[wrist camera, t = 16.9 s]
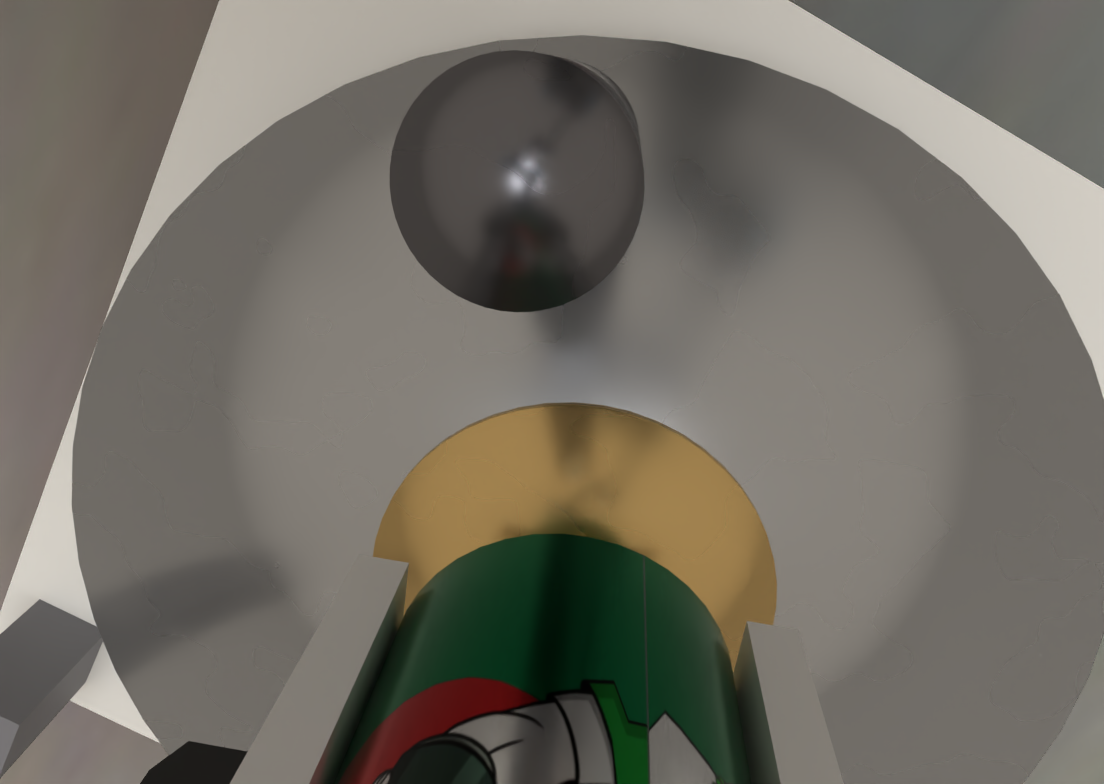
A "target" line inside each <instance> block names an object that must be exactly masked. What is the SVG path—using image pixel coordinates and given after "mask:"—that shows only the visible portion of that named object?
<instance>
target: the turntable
mask: <svg viewBox="0 0 1104 784" xmlns="http://www.w3.org/2000/svg"><path fill="white" fill-rule="evenodd" d="M72 513H73V521H74V529H75V536H76V544H77V552H78V560H79V566H80V569H81V573H82V577H83V581H84V584H85V588H86V592H87V595H88V599H89V603H90V607H91V610H92V614H93V618H94V620H95V623H96V625H97V628H98V630H99V633H100V635H101V637H102V640H103V642H104V645H105V647H106V649H107V652H108V654H109V657H110V659H111V662H112V664H113V666H114V669H115V671H116V673H117V675H118V676H119V678H120V680H121V682H122V683H123V685H124V687H125V689H126V691H127V692H128V694H129V696H130V698H131V699H132V701H133V703H134V705H135V706H136V708H137V710H138V712H139V713H140V715H141V717H142V719H143V720H144V722H145V723H146V724H147V726H148V727H149V728H150V730H151V731H152V733H153V734H154V735H155V737H156V738H157V739H158V741H159V742H160V743H161V745H162V746H163V747H164V749H165V750H166V752H167V753H168V754H169V755H170V754H172V753H173V752H174V751H176V750H177V749H178V748H180V747H181V746H182V745H184V744H185V743H186V742H188V741H192V742H198V743H203V744H209V745H214V746H220V747H226V748H231V749H237V750H242V751H248V750H249V749H250V747H251V745H252V743H253V741H254V740H255V738H256V736H257V734H258V733H259V731H260V729H261V727H262V725H263V724H264V722H265V720H266V718H267V717H268V715H269V713H270V711H271V710H272V708H273V706H274V704H275V702H276V701H277V699H278V697H279V695H280V694H281V692H282V690H283V688H284V686H285V685H286V683H287V681H288V679H289V678H290V676H291V674H292V672H293V670H294V669H295V667H296V665H297V663H298V662H299V660H300V658H301V656H302V654H303V653H304V651H305V649H306V647H307V646H308V644H309V642H310V640H311V638H312V637H313V635H314V633H315V631H316V630H317V628H318V626H319V624H320V623H321V621H322V619H323V617H324V615H325V614H326V612H327V610H328V608H329V607H330V605H331V603H332V601H333V599H334V598H335V596H336V594H337V592H338V591H339V589H340V587H341V585H342V583H343V582H344V580H345V578H346V576H347V575H348V573H349V571H350V569H351V567H352V566H353V564H354V562H355V560H356V559H357V557H358V555H359V554H360V555H366V556H372V557H378V558H383V559H389V560H395V561H401V562H407V563H409V567H408V576H407V586H406V596H405V606H404V614H405V612H406V610H407V609H408V607H409V606H410V604H411V603H412V601H413V600H414V598H415V597H416V595H417V594H418V592H419V591H420V590H421V589H422V588H423V587H424V586H425V585H426V584H427V583H428V582H429V581H430V580H431V579H432V578H433V577H434V576H435V575H436V574H437V573H438V572H439V571H441V570H442V569H443V568H445V567H446V566H448V565H449V564H450V563H452V562H453V561H454V560H456V559H457V558H459V557H461V556H463V555H465V554H467V553H469V552H471V551H473V550H475V549H477V548H479V547H482V546H485V545H488V544H491V543H494V542H497V541H500V540H504V539H507V538H513V537H519V536H525V535H531V534H570V535H579V536H587V537H593V538H597V539H600V540H604V541H608V542H612V543H616V544H619V545H621V546H624V547H626V548H629V549H631V550H633V551H636V552H638V553H640V554H643V555H645V556H647V557H648V558H650V559H652V560H653V561H655V562H657V563H658V564H660V565H662V566H663V567H665V568H667V569H668V570H669V571H671V572H672V573H673V574H674V575H675V576H677V577H678V578H679V579H680V580H682V581H683V582H684V583H685V584H686V585H688V586H689V587H690V588H691V590H692V591H693V592H694V593H695V594H696V595H697V596H698V597H699V599H700V600H701V601H702V602H703V603H704V604H705V605H706V607H707V608H708V610H709V612H710V613H711V615H712V616H713V618H714V620H715V621H716V623H717V624H718V626H719V628H720V630H721V633H722V635H723V638H724V640H725V643H726V645H727V648H728V650H729V655H730V660H731V665H732V670H733V672H734V668H735V665H736V661H737V657H738V653H739V649H740V645H741V642H742V638H743V634H744V630H745V626H746V623H747V621H750V622H756V623H762V624H767V625H773V626H779V627H785V628H791V629H796V630H798V631H799V634H800V638H801V641H802V644H803V648H804V651H805V654H806V658H807V661H808V664H809V668H810V671H811V675H812V678H813V681H814V685H815V688H816V691H817V695H818V698H819V702H820V705H821V708H822V712H823V715H824V718H825V722H826V725H827V728H828V732H829V735H830V739H831V742H832V745H833V749H834V752H835V755H836V759H837V762H838V765H839V769H840V772H841V776H842V779H843V782H844V784H1023V783H1024V782H1025V781H1026V780H1027V778H1028V777H1029V775H1030V774H1031V773H1032V771H1033V770H1034V768H1035V767H1036V766H1037V764H1038V763H1039V761H1040V760H1041V758H1042V757H1043V756H1044V754H1045V753H1046V751H1047V750H1048V749H1049V747H1050V746H1051V744H1052V743H1053V741H1054V740H1055V739H1056V737H1057V736H1058V734H1059V733H1060V732H1061V730H1062V728H1063V726H1064V724H1065V722H1066V720H1067V718H1068V716H1069V715H1070V713H1071V711H1072V709H1073V707H1074V705H1075V703H1076V701H1077V699H1078V697H1079V695H1080V693H1081V691H1082V689H1083V687H1084V685H1085V683H1086V682H1087V680H1088V678H1089V675H1090V672H1091V669H1092V666H1093V663H1094V661H1095V658H1096V655H1097V652H1098V649H1099V646H1100V643H1101V640H1102V637H1103V634H1104V398H1103V395H1102V392H1101V388H1100V385H1099V382H1098V379H1097V375H1096V372H1095V369H1094V366H1093V362H1092V359H1091V357H1090V355H1089V353H1088V351H1087V349H1086V347H1085V345H1084V343H1083V341H1082V339H1081V337H1080V335H1079V333H1078V331H1077V329H1076V327H1075V325H1074V323H1073V321H1072V319H1071V317H1070V315H1069V313H1068V311H1067V309H1066V307H1065V305H1064V302H1063V300H1062V298H1061V296H1060V295H1059V293H1058V292H1057V290H1056V289H1055V288H1054V286H1053V285H1052V283H1051V282H1050V280H1049V279H1048V278H1047V276H1046V275H1045V273H1044V272H1043V271H1042V269H1041V268H1040V266H1039V265H1038V263H1037V262H1036V261H1035V259H1034V258H1033V256H1032V255H1031V254H1030V252H1029V251H1028V249H1027V248H1026V246H1025V245H1024V244H1023V242H1022V241H1021V239H1020V238H1019V237H1018V235H1017V234H1016V233H1015V232H1014V231H1013V230H1012V229H1011V228H1010V227H1009V226H1008V224H1007V223H1006V222H1005V221H1004V220H1003V219H1002V218H1001V217H1000V216H999V215H998V214H997V213H996V212H995V211H994V210H993V209H992V208H991V207H990V206H989V205H988V204H987V203H986V202H985V201H984V200H983V199H982V198H981V197H980V196H979V195H978V193H977V192H976V191H975V190H974V189H973V188H972V187H971V186H970V185H969V184H968V183H967V182H966V181H965V180H964V179H963V178H962V177H961V176H959V175H958V174H957V173H955V172H954V171H953V170H951V169H950V168H949V167H947V166H946V165H945V164H944V163H942V162H941V161H940V160H938V159H937V158H936V157H934V156H933V155H932V154H930V153H929V152H928V151H926V150H925V149H924V148H923V147H921V146H920V145H919V144H917V143H916V142H915V141H913V140H912V139H911V138H909V137H908V136H907V135H905V134H904V133H903V132H902V131H900V130H899V129H897V128H895V127H894V126H892V125H890V124H888V123H886V122H885V121H883V120H881V119H879V118H877V117H875V116H874V115H872V114H870V113H868V112H866V111H865V110H863V109H861V108H859V107H857V106H856V105H854V104H852V103H850V102H848V101H846V100H845V99H843V98H841V97H839V96H837V95H836V94H834V93H832V92H830V91H828V90H827V89H824V88H821V87H819V86H816V85H813V84H811V83H808V82H805V81H803V80H800V79H797V78H795V77H792V76H789V75H787V74H784V73H781V72H779V71H776V70H773V69H771V68H768V67H765V66H763V65H760V64H758V63H755V62H752V61H750V60H746V59H742V58H737V57H733V56H728V55H724V54H719V53H715V52H710V51H706V50H701V49H696V48H692V47H687V46H683V45H678V44H674V43H669V42H664V41H651V40H638V39H625V38H612V37H599V36H586V35H577V36H561V37H545V38H530V39H514V40H499V41H494V42H489V43H484V44H480V45H475V46H470V47H465V48H460V49H456V50H451V51H446V52H441V53H437V54H432V55H427V56H422V57H418V58H415V59H413V60H410V61H407V62H404V63H402V64H399V65H396V66H393V67H391V68H388V69H385V70H382V71H380V72H377V73H374V74H371V75H369V76H366V77H363V78H361V79H358V80H355V81H352V82H350V83H347V84H344V85H342V86H341V87H339V88H337V89H335V90H333V91H331V92H330V93H328V94H326V95H324V96H322V97H320V98H318V99H317V100H315V101H313V102H311V103H309V104H307V105H306V106H304V107H302V108H300V109H298V110H296V111H294V112H293V113H291V114H289V115H287V116H285V117H283V118H282V119H280V120H278V121H276V122H275V123H274V124H272V125H271V126H270V127H268V128H267V129H266V130H265V131H263V132H262V133H261V134H259V135H258V136H257V137H255V138H254V139H253V140H251V141H250V142H249V143H247V144H246V145H245V146H243V147H242V148H241V149H239V150H238V151H237V152H235V153H234V154H233V155H231V156H230V157H229V158H227V159H226V160H225V161H223V162H222V163H221V164H219V165H218V166H217V167H216V168H215V169H214V170H213V171H212V172H211V174H210V175H209V176H208V177H207V178H206V179H205V180H204V181H203V182H202V183H201V184H200V185H199V186H198V187H197V188H196V189H195V190H194V191H193V192H192V193H191V194H190V195H189V196H188V197H187V198H186V199H185V200H184V201H183V202H182V203H181V204H180V205H179V206H178V207H177V208H176V209H175V210H174V211H173V212H172V213H171V214H170V216H169V217H168V218H167V220H166V221H165V223H164V224H163V225H162V227H161V228H160V230H159V231H158V232H157V234H156V235H155V237H154V238H153V239H152V241H151V242H150V244H149V245H148V246H147V248H146V249H145V251H144V252H143V253H142V255H141V256H140V258H139V259H138V260H137V262H136V263H135V265H134V266H133V267H132V269H131V270H130V272H129V274H128V276H127V278H126V280H125V282H124V284H123V286H122V288H121V290H120V292H119V294H118V296H117V298H116V300H115V302H114V304H113V306H112V308H111V310H110V312H109V314H108V316H107V318H106V320H105V322H104V324H103V326H102V328H101V331H100V334H99V337H98V341H97V344H96V347H95V350H94V353H93V356H92V359H91V362H90V365H89V368H88V371H87V374H86V378H85V381H84V384H83V387H82V393H81V399H80V405H79V411H78V417H77V423H76V429H75V435H74V441H73V452H72ZM403 617H404V616H403Z"/></svg>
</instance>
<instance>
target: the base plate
mask: <svg viewBox="0 0 1104 784" xmlns="http://www.w3.org/2000/svg"><path fill="white" fill-rule="evenodd" d="M577 35H586V36H599V37H612V38H625V39H638V40H651V41H664V42H669V43H674V44H678V45H683V46H687V47H692V48H696V49H701V50H706V51H710V52H715V53H719V54H724V55H728V56H733V57H737V58H742V59H746V60H750V61H752V62H755V63H758V64H760V65H763V66H765V67H768V68H771V69H773V70H776V71H779V72H781V73H784V74H787V75H789V76H792V77H795V78H797V79H800V80H803V81H805V82H808V83H811V84H813V85H816V86H819V87H821V88H824V89H827V90H828V91H830V92H832V93H834V94H836V95H837V96H839V97H841V98H843V99H845V100H846V101H848V102H850V103H852V104H854V105H856V106H857V107H859V108H861V109H863V110H865V111H866V112H868V113H870V114H872V115H874V116H875V117H877V118H879V119H881V120H883V121H885V122H886V123H888V124H890V125H892V126H894V127H895V128H897V129H899V130H900V131H902V132H903V133H904V134H905V135H907V136H908V137H909V138H911V139H912V140H913V141H915V142H916V143H917V144H919V145H920V146H921V147H923V148H924V149H925V150H926V151H928V152H929V153H930V154H932V155H933V156H934V157H936V158H937V159H938V160H940V161H941V162H942V163H944V164H945V165H946V166H947V167H949V168H950V169H951V170H953V171H954V172H955V173H957V174H958V175H959V176H961V177H962V178H963V179H964V180H965V181H966V182H967V183H968V184H969V185H970V186H971V187H972V188H973V189H974V190H975V191H976V192H977V193H978V195H979V196H980V197H981V198H982V199H983V200H984V201H985V202H986V203H987V204H988V205H989V206H990V207H991V208H992V209H993V210H994V211H995V212H996V213H997V214H998V215H999V216H1000V217H1001V218H1002V219H1003V220H1004V221H1005V222H1006V223H1007V224H1008V226H1009V227H1010V228H1011V229H1012V230H1013V231H1014V232H1015V233H1016V234H1017V235H1018V237H1019V238H1020V239H1021V241H1022V242H1023V244H1024V245H1025V246H1026V248H1027V249H1028V251H1029V252H1030V254H1031V255H1032V256H1033V258H1034V259H1035V261H1036V262H1037V263H1038V265H1039V266H1040V268H1041V269H1042V271H1043V272H1044V273H1045V275H1046V276H1047V278H1048V279H1049V280H1050V282H1051V283H1052V285H1053V286H1054V288H1055V289H1056V290H1057V292H1058V293H1059V295H1060V296H1061V298H1062V300H1063V302H1064V305H1065V307H1066V309H1067V311H1068V313H1069V315H1070V317H1071V319H1072V321H1073V323H1074V325H1075V327H1076V329H1077V331H1078V333H1079V335H1080V337H1081V339H1082V341H1083V343H1084V345H1085V347H1086V349H1087V351H1088V353H1089V355H1090V357H1091V359H1092V362H1093V366H1094V369H1095V372H1096V375H1097V379H1098V382H1099V385H1100V388H1101V392H1102V395H1103V398H1104V189H1103V188H1101V187H1100V186H1098V185H1096V184H1095V183H1093V182H1091V181H1090V180H1088V179H1086V178H1085V177H1083V176H1081V175H1080V174H1078V173H1076V172H1075V171H1073V170H1071V169H1070V168H1068V167H1066V166H1065V165H1063V164H1061V163H1060V162H1058V161H1056V160H1055V159H1053V158H1051V157H1050V156H1048V155H1046V154H1045V153H1043V152H1041V151H1040V150H1038V149H1036V148H1035V147H1033V146H1031V145H1030V144H1028V143H1026V142H1025V141H1023V140H1021V139H1020V138H1018V137H1016V136H1015V135H1013V134H1011V133H1010V132H1008V131H1006V130H1005V129H1003V128H1001V127H999V126H998V125H996V124H994V123H993V122H991V121H989V120H988V119H986V118H984V117H983V116H981V115H979V114H978V113H976V112H974V111H973V110H971V109H969V108H968V107H966V106H964V105H963V104H961V103H959V102H958V101H956V100H954V99H953V98H951V97H949V96H948V95H946V94H944V93H943V92H941V91H939V90H938V89H936V88H934V87H933V86H931V85H929V84H928V83H926V82H924V81H923V80H921V79H919V78H918V77H916V76H914V75H913V74H911V73H909V72H908V71H906V70H904V69H903V68H901V67H899V66H897V65H896V64H894V63H892V62H891V61H889V60H887V59H886V58H884V57H882V56H881V55H879V54H877V53H876V52H874V51H872V50H871V49H869V48H867V47H866V46H864V45H862V44H861V43H859V42H857V41H856V40H854V39H852V38H851V37H849V36H847V35H846V34H844V33H842V32H841V31H839V30H837V29H836V28H834V27H832V26H831V25H829V24H827V23H826V22H824V21H822V20H821V19H819V18H817V17H816V16H814V15H812V14H811V13H809V12H807V11H806V10H804V9H802V8H800V7H799V6H797V5H795V4H794V3H792V2H790V1H789V0H219V3H218V5H217V8H216V11H215V14H214V17H213V19H212V22H211V25H210V28H209V31H208V33H207V36H206V39H205V42H204V45H203V47H202V50H201V53H200V56H199V58H198V61H197V64H196V67H195V70H194V72H193V75H192V78H191V81H190V84H189V86H188V89H187V92H186V95H185V98H184V100H183V103H182V106H181V109H180V112H179V114H178V117H177V120H176V123H175V125H174V128H173V131H172V134H171V137H170V139H169V142H168V145H167V148H166V151H165V153H164V156H163V159H162V162H161V165H160V167H159V170H158V173H157V176H156V179H155V181H154V184H153V187H152V190H151V192H150V195H149V198H148V201H147V204H146V206H145V209H144V212H143V215H142V218H141V220H140V223H139V226H138V229H137V232H136V234H135V237H134V240H133V243H132V246H131V248H130V251H129V254H128V257H127V259H126V262H125V265H124V268H123V271H122V273H121V276H120V279H119V282H118V285H117V287H116V290H115V293H114V296H113V299H112V301H111V304H110V307H109V310H108V313H107V315H106V318H107V316H108V314H109V312H110V310H111V308H112V306H113V304H114V302H115V300H116V298H117V296H118V294H119V292H120V290H121V288H122V286H123V284H124V282H125V280H126V278H127V276H128V274H129V272H130V270H131V269H132V267H133V266H134V265H135V263H136V262H137V260H138V259H139V258H140V256H141V255H142V253H143V252H144V251H145V249H146V248H147V246H148V245H149V244H150V242H151V241H152V239H153V238H154V237H155V235H156V234H157V232H158V231H159V230H160V228H161V227H162V225H163V224H164V223H165V221H166V220H167V218H168V217H169V216H170V214H171V213H172V212H173V211H174V210H175V209H176V208H177V207H178V206H179V205H180V204H181V203H182V202H183V201H184V200H185V199H186V198H187V197H188V196H189V195H190V194H191V193H192V192H193V191H194V190H195V189H196V188H197V187H198V186H199V185H200V184H201V183H202V182H203V181H204V180H205V179H206V178H207V177H208V176H209V175H210V174H211V172H212V171H213V170H214V169H215V168H216V167H217V166H218V165H219V164H221V163H222V162H223V161H225V160H226V159H227V158H229V157H230V156H231V155H233V154H234V153H235V152H237V151H238V150H239V149H241V148H242V147H243V146H245V145H246V144H247V143H249V142H250V141H251V140H253V139H254V138H255V137H257V136H258V135H259V134H261V133H262V132H263V131H265V130H266V129H267V128H268V127H270V126H271V125H272V124H274V123H275V122H276V121H278V120H280V119H282V118H283V117H285V116H287V115H289V114H291V113H293V112H294V111H296V110H298V109H300V108H302V107H304V106H306V105H307V104H309V103H311V102H313V101H315V100H317V99H318V98H320V97H322V96H324V95H326V94H328V93H330V92H331V91H333V90H335V89H337V88H339V87H341V86H342V85H344V84H347V83H350V82H352V81H355V80H358V79H361V78H363V77H366V76H369V75H371V74H374V73H377V72H380V71H382V70H385V69H388V68H391V67H393V66H396V65H399V64H402V63H404V62H407V61H410V60H413V59H415V58H418V57H422V56H427V55H432V54H437V53H441V52H446V51H451V50H456V49H460V48H465V47H470V46H475V45H480V44H484V43H489V42H494V41H499V40H514V39H530V38H545V37H561V36H577ZM106 318H105V320H106ZM104 322H105V321H104ZM97 341H98V340H97ZM96 344H97V343H96ZM95 347H96V346H95ZM94 350H95V349H94ZM93 353H94V352H93ZM92 356H93V354H92ZM91 359H92V357H91ZM90 362H91V360H90ZM89 365H90V363H89ZM88 368H89V366H88ZM88 368H87V371H88ZM87 371H86V374H87ZM86 374H85V377H84V380H83V382H82V385H81V388H80V391H79V393H78V396H77V399H76V402H75V405H74V407H73V410H72V413H71V416H70V419H69V421H68V424H67V427H66V430H65V433H64V435H63V438H62V441H61V444H60V446H59V449H58V452H57V455H56V458H55V460H54V463H53V466H52V469H51V472H50V474H49V477H48V480H47V483H46V486H45V488H44V491H43V494H42V497H41V500H40V502H39V505H38V508H37V511H36V513H35V516H34V519H33V522H32V525H31V527H30V530H29V533H28V536H27V539H26V541H25V544H24V547H23V550H22V553H21V555H20V558H19V561H18V564H17V567H16V569H15V572H14V575H13V578H12V580H11V583H10V586H9V589H8V592H7V594H6V597H5V600H4V603H3V606H2V608H1V611H0V778H1V777H2V776H3V774H4V773H5V772H6V771H7V770H8V769H9V768H10V767H11V765H12V764H13V763H14V762H15V761H16V760H17V759H18V758H19V757H20V755H21V754H22V753H23V752H24V751H25V750H26V749H27V748H28V746H29V745H30V744H31V743H32V742H33V741H34V740H35V739H36V737H37V736H38V735H39V734H40V733H41V732H42V731H43V730H44V729H45V727H46V726H47V725H48V724H49V723H50V722H51V721H52V720H53V718H54V717H55V716H56V715H57V714H58V713H59V712H60V711H61V709H62V708H63V707H64V706H65V705H66V704H67V703H68V702H69V701H72V702H74V703H76V704H78V705H80V706H82V707H85V708H87V709H89V710H91V711H93V712H95V713H97V714H99V715H101V716H104V717H106V718H108V719H110V720H112V721H114V722H116V723H118V724H120V725H123V726H125V727H127V728H129V729H131V730H133V731H135V732H137V733H140V734H142V735H144V736H146V737H148V738H150V739H152V740H154V741H156V742H159V741H158V739H157V738H156V737H155V735H154V734H153V733H152V731H151V730H150V728H149V727H148V726H147V724H146V723H145V722H144V720H143V719H142V717H141V715H140V713H139V712H138V710H137V708H136V706H135V705H134V703H133V701H132V699H131V698H130V696H129V694H128V692H127V691H126V689H125V687H124V685H123V683H122V682H121V680H120V678H119V676H118V675H117V673H116V671H115V669H114V666H113V664H112V662H111V659H110V657H109V654H108V652H107V649H106V647H105V645H104V642H103V640H102V637H101V635H100V633H99V630H98V628H97V625H96V623H95V620H94V618H93V614H92V610H91V607H90V603H89V599H88V595H87V592H86V588H85V584H84V581H83V577H82V573H81V569H80V566H79V560H78V552H77V544H76V536H75V529H74V521H73V513H72V452H73V441H74V435H75V429H76V423H77V417H78V411H79V405H80V399H81V393H82V387H83V384H84V381H85V378H86ZM159 743H160V742H159Z"/></svg>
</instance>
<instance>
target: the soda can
mask: <svg viewBox="0 0 1104 784" xmlns="http://www.w3.org/2000/svg"><path fill="white" fill-rule="evenodd" d="M333 784H752V783H751V777H750V771H749V765H748V759H747V753H746V747H745V741H744V735H743V729H742V723H741V717H740V711H739V705H738V699H737V693H736V687H735V681H734V675H733V670H732V665H731V660H730V655H729V650H728V648H727V645H726V643H725V640H724V638H723V635H722V633H721V630H720V628H719V626H718V624H717V623H716V621H715V620H714V618H713V616H712V615H711V613H710V612H709V610H708V608H707V607H706V605H705V604H704V603H703V602H702V601H701V600H700V599H699V597H698V596H697V595H696V594H695V593H694V592H693V591H692V590H691V588H690V587H689V586H688V585H686V584H685V583H684V582H683V581H682V580H680V579H679V578H678V577H677V576H675V575H674V574H673V573H672V572H671V571H669V570H668V569H667V568H665V567H663V566H662V565H660V564H658V563H657V562H655V561H653V560H652V559H650V558H648V557H647V556H645V555H643V554H640V553H638V552H636V551H633V550H631V549H629V548H626V547H624V546H621V545H619V544H616V543H612V542H608V541H604V540H600V539H597V538H593V537H587V536H579V535H570V534H531V535H525V536H519V537H513V538H507V539H504V540H500V541H497V542H494V543H491V544H488V545H485V546H482V547H479V548H477V549H475V550H473V551H471V552H469V553H467V554H465V555H463V556H461V557H459V558H457V559H456V560H454V561H453V562H452V563H450V564H449V565H448V566H446V567H445V568H443V569H442V570H441V571H439V572H438V573H437V574H436V575H435V576H434V577H433V578H432V579H431V580H430V581H429V582H428V583H427V584H426V585H425V586H424V587H423V588H422V589H421V590H420V591H419V592H418V594H417V595H416V597H415V598H414V600H413V601H412V603H411V604H410V606H409V607H408V609H407V610H406V612H405V614H404V617H403V619H402V621H401V624H400V626H399V628H398V631H397V633H396V636H395V638H394V640H393V643H392V645H391V647H390V650H389V652H388V655H387V657H386V659H385V662H384V664H383V666H382V669H381V671H380V674H379V676H378V678H377V681H376V683H375V686H374V688H373V690H372V693H371V695H370V697H369V700H368V702H367V705H366V707H365V709H364V712H363V714H362V716H361V719H360V721H359V724H358V726H357V728H356V731H355V733H354V736H353V738H352V740H351V743H350V745H349V747H348V750H347V752H346V755H345V757H344V759H343V762H342V764H341V766H340V769H339V771H338V774H337V776H336V778H335V781H334V783H333Z"/></svg>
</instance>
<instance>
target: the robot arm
mask: <svg viewBox="0 0 1104 784" xmlns="http://www.w3.org/2000/svg"><path fill="white" fill-rule="evenodd" d="M408 567H409V563H407V562H401V561H395V560H389V559H383V558H378V557H372V556H366V555H360V554H359V555H358V557H357V559H356V560H355V562H354V564H353V566H352V567H351V569H350V571H349V573H348V575H347V576H346V578H345V580H344V582H343V583H342V585H341V587H340V589H339V591H338V592H337V594H336V596H335V598H334V599H333V601H332V603H331V605H330V607H329V608H328V610H327V612H326V614H325V615H324V617H323V619H322V621H321V623H320V624H319V626H318V628H317V630H316V631H315V633H314V635H313V637H312V638H311V640H310V642H309V644H308V646H307V647H306V649H305V651H304V653H303V654H302V656H301V658H300V660H299V662H298V663H297V665H296V667H295V669H294V670H293V672H292V674H291V676H290V678H289V679H288V681H287V683H286V685H285V686H284V688H283V690H282V692H281V694H280V695H279V697H278V699H277V701H276V702H275V704H274V706H273V708H272V710H271V711H270V713H269V715H268V717H267V718H266V720H265V722H264V724H263V725H262V727H261V729H260V731H259V733H258V734H257V736H256V738H255V740H254V741H253V743H252V745H251V747H250V749H249V750H248V751H242V750H237V749H231V748H226V747H220V746H214V745H209V744H203V743H198V742H192V741H188V742H186V743H185V744H184V745H182V746H181V747H180V748H178V749H177V750H176V751H174V752H173V753H172V754H170V755H169V756H168V757H166V758H165V759H164V760H162V761H161V762H160V763H158V764H157V765H156V766H154V767H153V768H152V769H150V770H149V771H148V773H147V774H146V776H145V777H144V779H143V780H142V782H141V783H140V784H333V783H334V781H335V778H336V776H337V774H338V771H339V769H340V766H341V764H342V762H343V759H344V757H345V755H346V752H347V750H348V747H349V745H350V743H351V740H352V738H353V736H354V733H355V731H356V728H357V726H358V724H359V721H360V719H361V716H362V714H363V712H364V709H365V707H366V705H367V702H368V700H369V697H370V695H371V693H372V690H373V688H374V686H375V683H376V681H377V678H378V676H379V674H380V671H381V669H382V666H383V664H384V662H385V659H386V657H387V655H388V652H389V650H390V647H391V645H392V643H393V640H394V638H395V636H396V633H397V631H398V628H399V626H400V624H401V621H402V619H403V616H404V606H405V596H406V586H407V576H408ZM733 675H734V681H735V687H736V693H737V699H738V705H739V711H740V717H741V723H742V729H743V735H744V741H745V747H746V753H747V759H748V765H749V771H750V777H751V783H752V784H844V782H843V779H842V776H841V772H840V769H839V765H838V762H837V759H836V755H835V752H834V749H833V745H832V742H831V739H830V735H829V732H828V728H827V725H826V722H825V718H824V715H823V712H822V708H821V705H820V702H819V698H818V695H817V691H816V688H815V685H814V681H813V678H812V675H811V671H810V668H809V664H808V661H807V658H806V654H805V651H804V648H803V644H802V641H801V638H800V634H799V631H798V630H796V629H791V628H785V627H779V626H773V625H767V624H762V623H756V622H750V621H747V623H746V626H745V630H744V634H743V638H742V642H741V645H740V649H739V653H738V657H737V661H736V665H735V668H734V672H733Z"/></svg>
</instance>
